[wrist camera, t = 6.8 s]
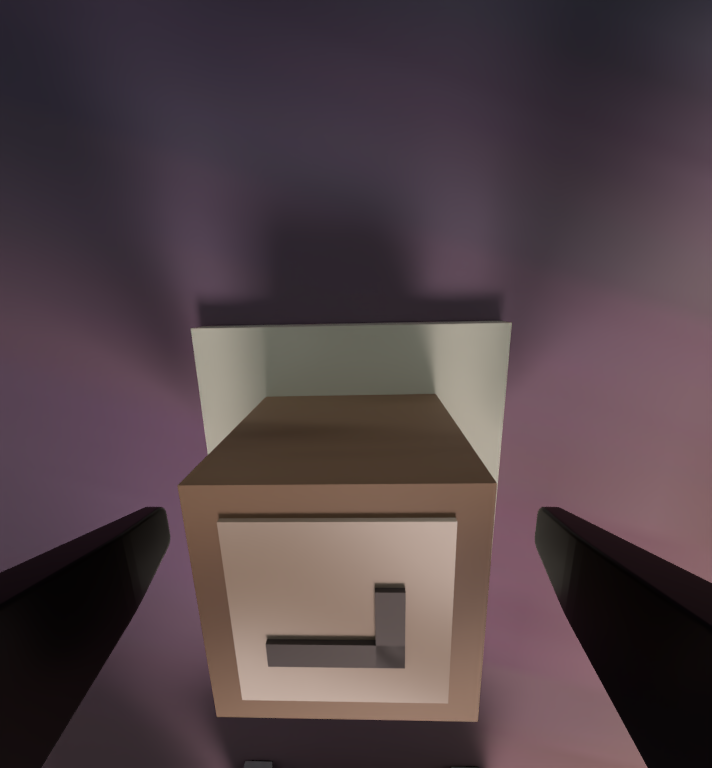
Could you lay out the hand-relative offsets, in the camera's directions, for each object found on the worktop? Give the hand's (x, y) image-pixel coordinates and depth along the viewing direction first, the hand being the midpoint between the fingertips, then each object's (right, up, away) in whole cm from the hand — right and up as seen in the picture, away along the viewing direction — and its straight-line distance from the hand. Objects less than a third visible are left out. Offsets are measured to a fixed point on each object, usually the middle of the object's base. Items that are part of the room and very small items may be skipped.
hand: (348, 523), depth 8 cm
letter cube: (0, +1, +2) cm, 3 cm away
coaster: (0, +1, +3) cm, 3 cm away
